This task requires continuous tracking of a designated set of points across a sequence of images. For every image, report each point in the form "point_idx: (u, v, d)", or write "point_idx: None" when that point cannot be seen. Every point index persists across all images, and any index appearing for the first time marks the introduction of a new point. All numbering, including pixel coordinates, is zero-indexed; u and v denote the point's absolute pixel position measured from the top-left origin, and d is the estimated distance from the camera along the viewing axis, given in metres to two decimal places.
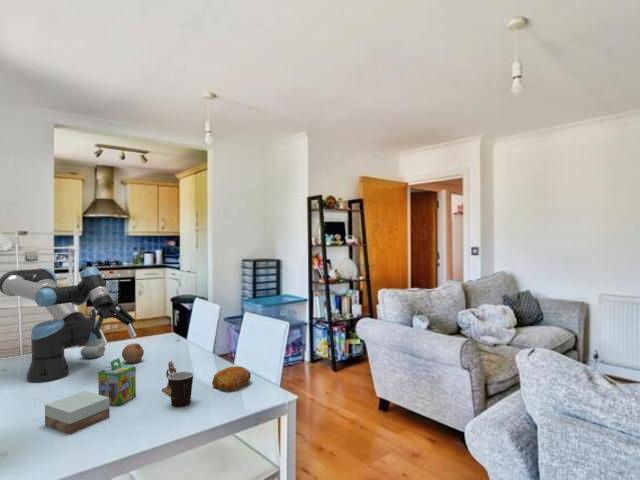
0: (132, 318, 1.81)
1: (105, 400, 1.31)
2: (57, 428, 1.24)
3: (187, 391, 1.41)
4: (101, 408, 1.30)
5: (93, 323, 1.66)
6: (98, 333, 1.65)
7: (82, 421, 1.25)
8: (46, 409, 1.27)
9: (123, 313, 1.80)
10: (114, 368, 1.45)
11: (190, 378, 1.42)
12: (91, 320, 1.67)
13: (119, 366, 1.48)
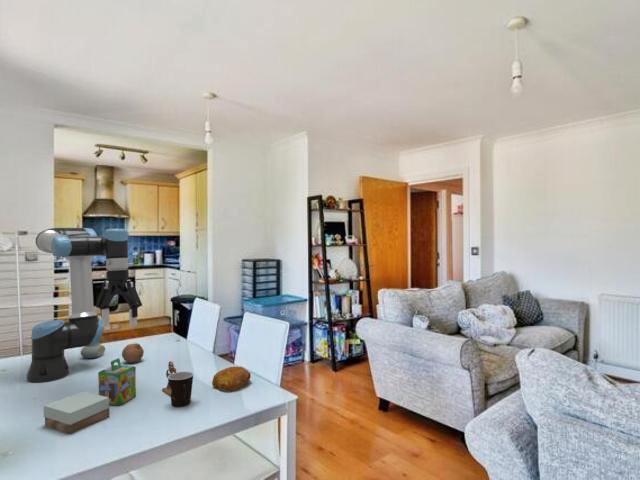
0: (135, 303, 1.46)
1: (104, 400, 1.31)
2: (57, 428, 1.24)
3: (187, 391, 1.41)
4: (101, 408, 1.30)
5: (98, 300, 1.52)
6: (101, 312, 1.52)
7: (82, 422, 1.25)
8: (45, 410, 1.26)
9: None
10: (114, 368, 1.45)
11: (190, 378, 1.42)
12: None
13: (119, 366, 1.48)
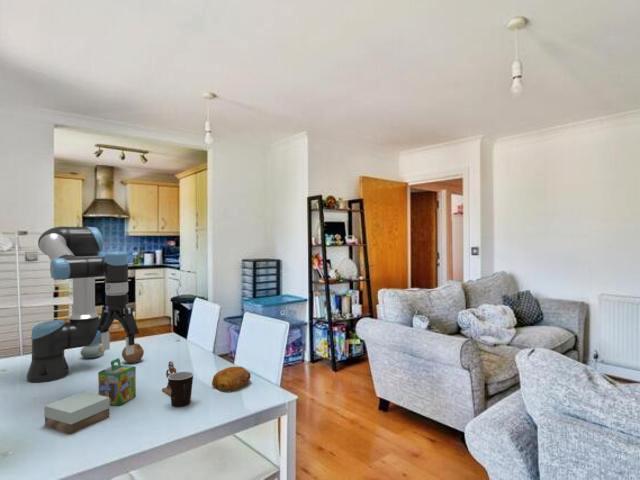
0: (131, 331, 1.41)
1: (105, 400, 1.31)
2: (57, 428, 1.24)
3: (187, 391, 1.41)
4: (101, 408, 1.30)
5: (99, 323, 1.49)
6: None
7: (82, 422, 1.25)
8: (46, 410, 1.26)
9: None
10: (114, 368, 1.45)
11: (190, 378, 1.42)
12: None
13: (119, 366, 1.48)
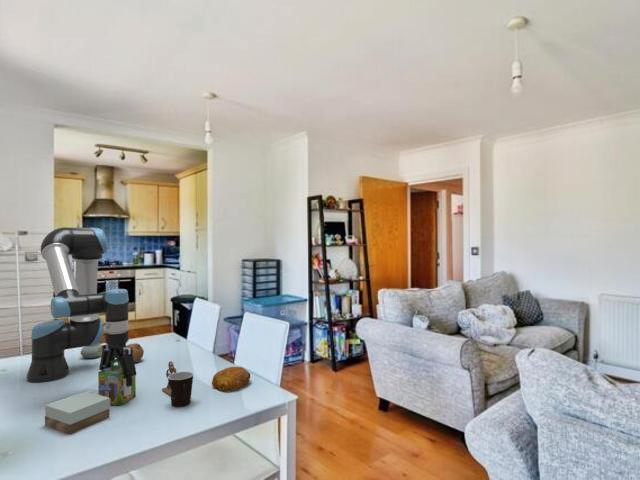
0: (129, 372, 1.42)
1: (105, 400, 1.31)
2: (57, 428, 1.24)
3: (187, 391, 1.41)
4: (101, 408, 1.30)
5: (101, 362, 1.49)
6: None
7: (82, 422, 1.25)
8: (46, 409, 1.27)
9: None
10: (114, 368, 1.45)
11: (190, 378, 1.42)
12: None
13: (119, 366, 1.48)
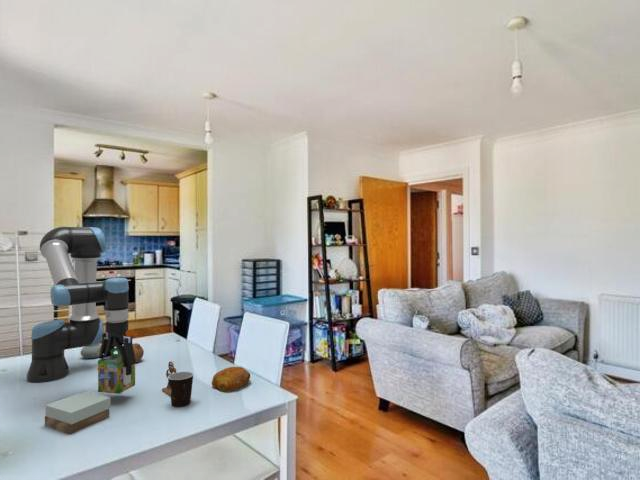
0: (128, 361, 1.42)
1: (106, 400, 1.32)
2: (57, 428, 1.24)
3: (187, 391, 1.41)
4: (102, 408, 1.30)
5: (101, 351, 1.49)
6: None
7: (82, 422, 1.25)
8: (47, 410, 1.27)
9: None
10: (114, 357, 1.46)
11: (190, 378, 1.42)
12: None
13: (119, 355, 1.48)
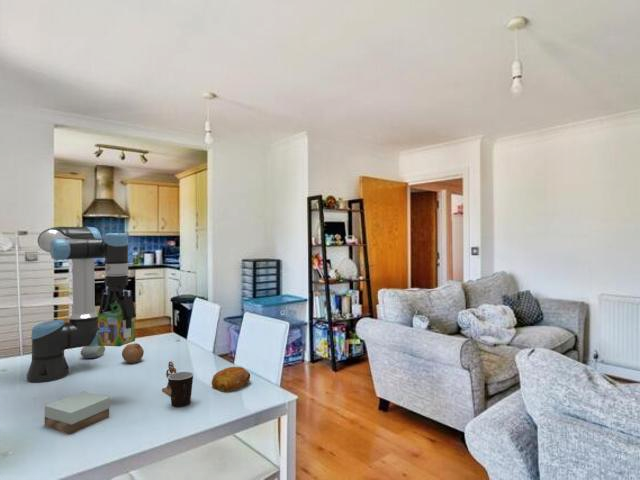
0: (128, 314, 1.42)
1: (105, 400, 1.32)
2: (57, 429, 1.24)
3: (187, 391, 1.41)
4: (102, 408, 1.30)
5: (100, 306, 1.49)
6: None
7: (82, 422, 1.25)
8: (46, 410, 1.26)
9: None
10: (113, 311, 1.45)
11: (190, 378, 1.42)
12: None
13: (118, 310, 1.48)
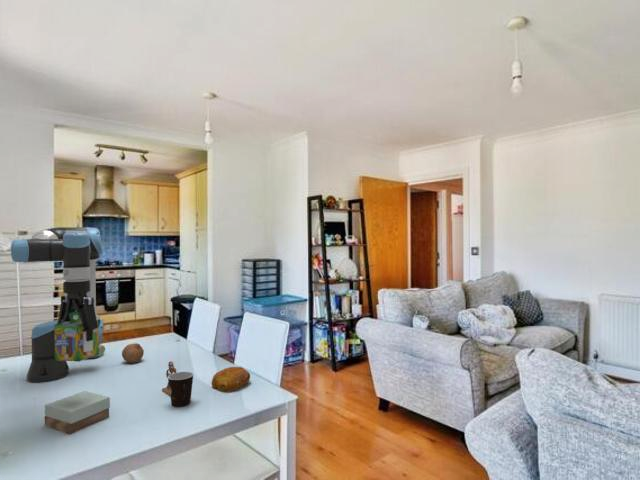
0: (88, 325, 1.25)
1: (105, 400, 1.32)
2: (57, 428, 1.24)
3: (187, 391, 1.41)
4: (102, 408, 1.31)
5: (59, 316, 1.32)
6: None
7: (82, 421, 1.25)
8: (46, 409, 1.27)
9: None
10: (73, 321, 1.28)
11: (190, 378, 1.42)
12: None
13: (79, 319, 1.31)
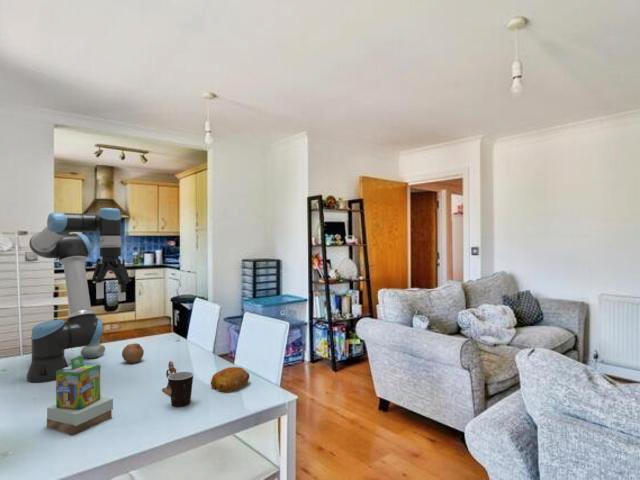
0: (123, 279, 1.55)
1: (109, 401, 1.31)
2: (59, 430, 1.23)
3: (187, 391, 1.41)
4: (105, 409, 1.30)
5: (94, 274, 1.64)
6: None
7: (84, 423, 1.24)
8: (49, 412, 1.25)
9: None
10: (75, 367, 1.28)
11: (190, 378, 1.42)
12: None
13: (81, 364, 1.30)
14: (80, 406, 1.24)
